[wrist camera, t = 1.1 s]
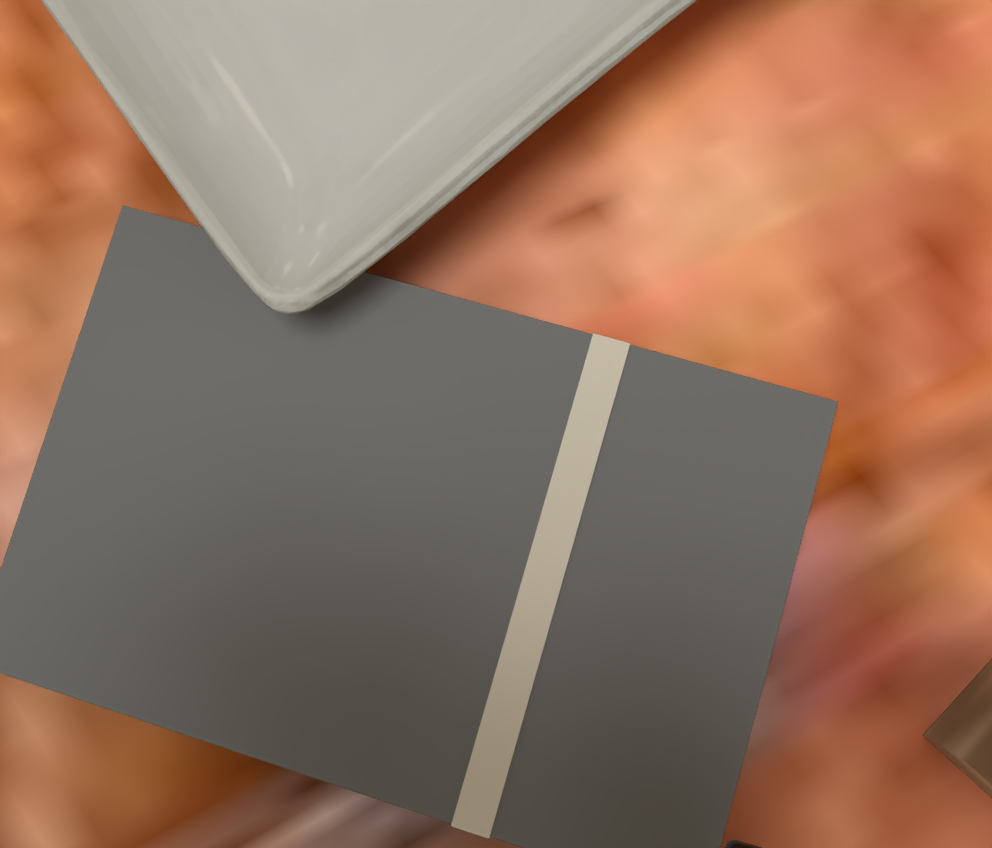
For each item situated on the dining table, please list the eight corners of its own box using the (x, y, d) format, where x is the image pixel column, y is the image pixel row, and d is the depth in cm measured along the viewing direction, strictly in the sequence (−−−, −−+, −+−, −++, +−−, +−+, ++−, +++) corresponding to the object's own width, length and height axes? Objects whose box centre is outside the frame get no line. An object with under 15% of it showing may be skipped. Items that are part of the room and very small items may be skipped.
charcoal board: (694, 883, 23) (705, 910, 22) (4, 653, 25) (-35, 663, 24) (821, 408, 24) (840, 401, 23) (147, 222, 26) (120, 203, 25)
